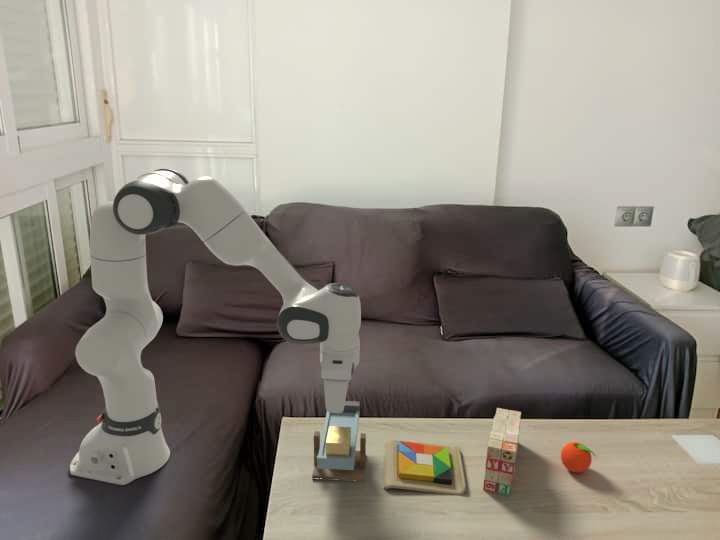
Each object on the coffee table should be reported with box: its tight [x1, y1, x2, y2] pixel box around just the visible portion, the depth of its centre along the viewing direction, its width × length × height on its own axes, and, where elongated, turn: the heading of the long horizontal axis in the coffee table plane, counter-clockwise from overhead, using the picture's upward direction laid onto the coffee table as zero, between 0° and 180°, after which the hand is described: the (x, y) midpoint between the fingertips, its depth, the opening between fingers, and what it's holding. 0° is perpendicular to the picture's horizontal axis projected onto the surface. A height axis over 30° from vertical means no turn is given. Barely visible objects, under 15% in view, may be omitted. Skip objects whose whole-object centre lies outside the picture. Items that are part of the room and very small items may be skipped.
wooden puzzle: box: [382, 439, 467, 496], centre depth 137 cm, size 18×19×4 cm
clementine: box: [560, 441, 597, 473], centre depth 136 cm, size 8×7×7 cm
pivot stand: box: [311, 430, 367, 482], centre depth 136 cm, size 10×12×9 cm
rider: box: [326, 426, 351, 457], centre depth 126 cm, size 6×5×5 cm
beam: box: [317, 400, 361, 470], centre depth 134 cm, size 22×8×3 cm, turn 177°
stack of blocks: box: [482, 407, 522, 497], centre depth 136 cm, size 21×6×12 cm, turn 161°
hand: (338, 407), depth 132 cm, fingers closed
